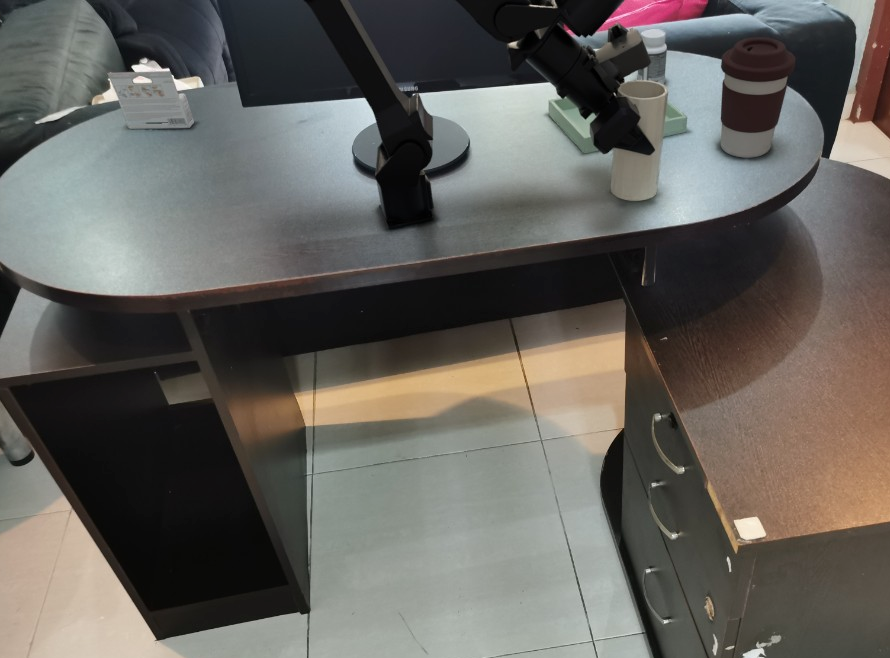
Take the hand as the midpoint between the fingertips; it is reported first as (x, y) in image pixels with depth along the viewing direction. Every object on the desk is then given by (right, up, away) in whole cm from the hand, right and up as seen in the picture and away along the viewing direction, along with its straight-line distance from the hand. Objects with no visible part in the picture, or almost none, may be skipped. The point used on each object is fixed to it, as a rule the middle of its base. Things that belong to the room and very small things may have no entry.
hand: (647, 140), depth 111 cm
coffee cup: (+17, +3, +14) cm, 22 cm away
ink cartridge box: (-78, +12, +31) cm, 85 cm away
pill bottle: (+6, +21, +33) cm, 39 cm away
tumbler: (-1, -5, +5) cm, 7 cm away
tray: (-1, +10, +22) cm, 24 cm away
